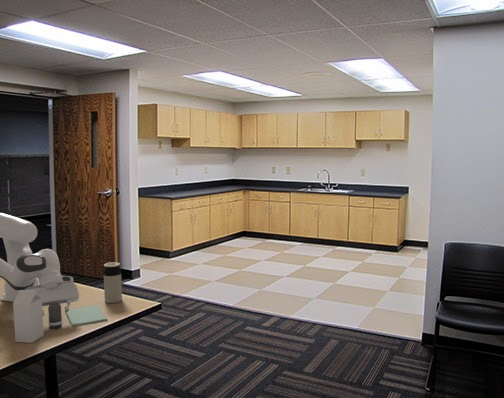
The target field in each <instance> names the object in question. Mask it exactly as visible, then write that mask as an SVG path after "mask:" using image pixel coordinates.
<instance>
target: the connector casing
mask: <svg viewBox="0 0 504 398" xmlns="http://www.w3.org/2000/svg"><path fill="white" fill-rule="evenodd" d="M47 309H48V310H47V311H48V328H49V329H50V330H58V329H60V328H62V327H63V319H62V306H61V304H59V303H57V302H53V303H51V304H50V305H49V306H48V308H47Z"/></svg>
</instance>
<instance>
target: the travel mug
mask: <svg viewBox="0 0 504 398" xmlns="http://www.w3.org/2000/svg"><path fill="white" fill-rule="evenodd" d="M103 266H104V270H103V287H104V289H103V290H104V302H105V303H106V304H107V303H108V304H116V303H119V302H121V301H122V300H123V289H122V288H123V287H122V286H123V285H122V268H120V266H121V263H120V262H117V261H116V262H115V261H114V262H112V261H111V262H106V263H104V264H103Z"/></svg>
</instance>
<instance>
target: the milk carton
mask: <svg viewBox="0 0 504 398" xmlns="http://www.w3.org/2000/svg"><path fill="white" fill-rule="evenodd" d="M12 306H13V323H14V324H13V325H14V337H15V338H14V339H15V342H16V343H28V344H33V343H34V342H36V341H37V340H39V339H41V338H42V337H43V336H45V335H44V333H45V332H44V317H43V312H42V310H43V306H42V298H40V297H39V296H38V295H37V294H36V291H24V290H19V293H18V295H17V297H16V299H15V301H14V302H13V303H12Z"/></svg>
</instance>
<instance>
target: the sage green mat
mask: <svg viewBox="0 0 504 398" xmlns="http://www.w3.org/2000/svg"><path fill="white" fill-rule="evenodd" d="M65 313H66V315H67V318H68V320H69V322H70V325H71V327H79V326H84V325H89V324H96V323H100V322H101V323H102V322H105V321H106V322H107V321H108V317H107V315H105V313H104V311H103V310H102V308H101V307H100V305H98V304H96V305H90V306H83V307H78V308H72V309H70V308H69V312H65Z"/></svg>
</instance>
